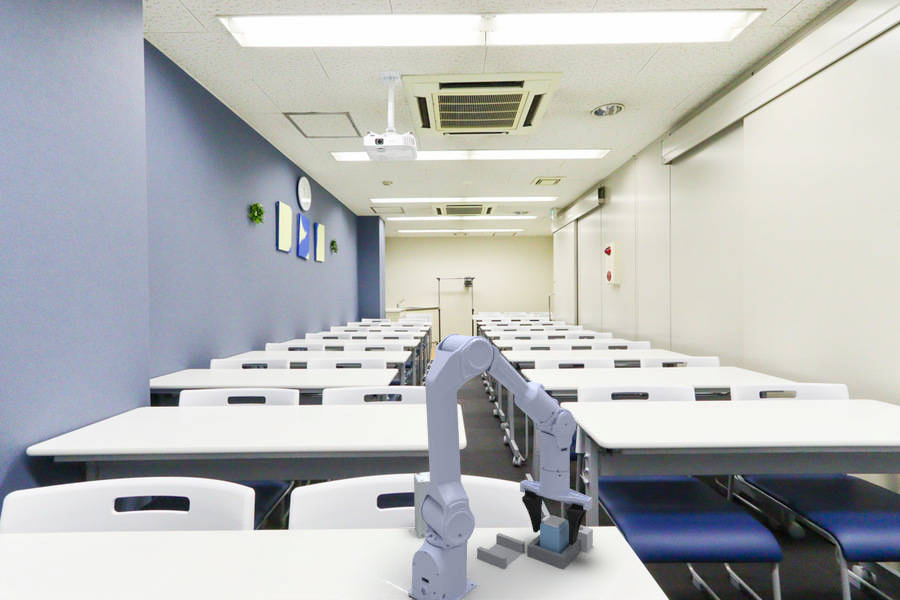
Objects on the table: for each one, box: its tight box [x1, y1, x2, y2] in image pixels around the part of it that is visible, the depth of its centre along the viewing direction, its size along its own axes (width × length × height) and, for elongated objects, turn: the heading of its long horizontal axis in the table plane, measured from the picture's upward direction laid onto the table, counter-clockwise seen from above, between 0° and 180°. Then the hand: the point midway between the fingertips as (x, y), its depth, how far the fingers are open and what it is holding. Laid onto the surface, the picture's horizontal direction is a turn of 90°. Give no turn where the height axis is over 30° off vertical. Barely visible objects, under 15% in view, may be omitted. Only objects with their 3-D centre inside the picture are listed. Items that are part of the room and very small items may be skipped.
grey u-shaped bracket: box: [476, 532, 526, 570], centre depth 90 cm, size 8×6×2 cm
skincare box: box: [413, 471, 430, 539], centre depth 99 cm, size 6×4×12 cm
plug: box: [539, 514, 570, 554], centre depth 91 cm, size 5×4×6 cm
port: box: [526, 514, 594, 571], centre depth 92 cm, size 12×10×4 cm
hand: (554, 536), depth 90 cm, fingers open, 7 cm apart
